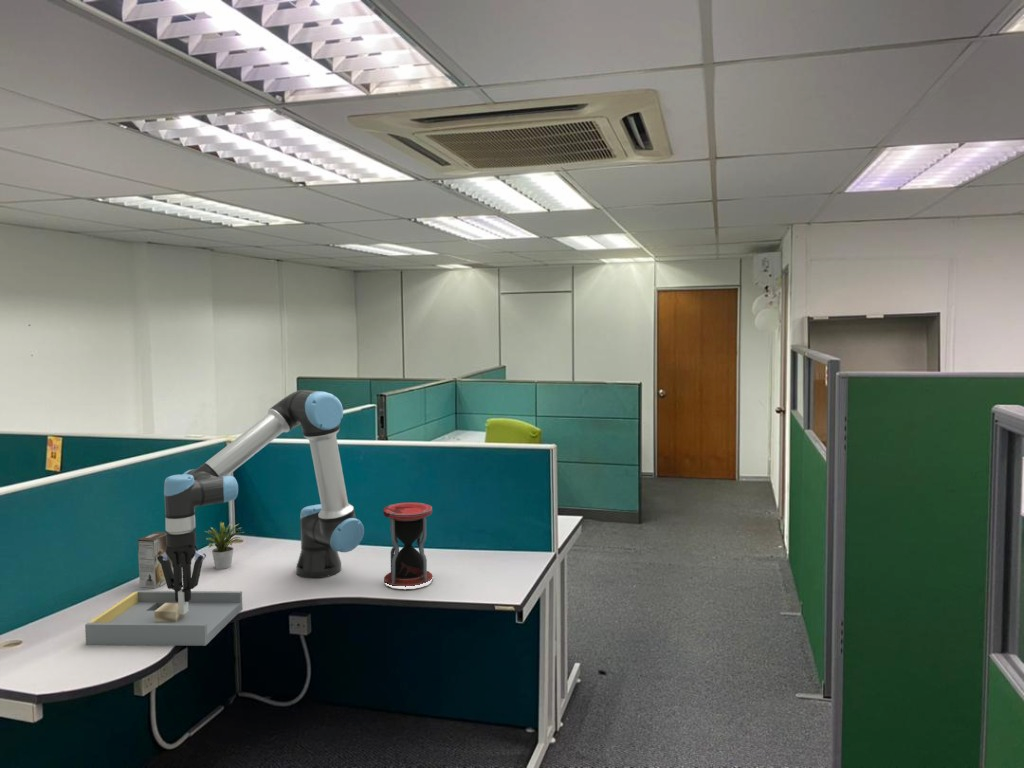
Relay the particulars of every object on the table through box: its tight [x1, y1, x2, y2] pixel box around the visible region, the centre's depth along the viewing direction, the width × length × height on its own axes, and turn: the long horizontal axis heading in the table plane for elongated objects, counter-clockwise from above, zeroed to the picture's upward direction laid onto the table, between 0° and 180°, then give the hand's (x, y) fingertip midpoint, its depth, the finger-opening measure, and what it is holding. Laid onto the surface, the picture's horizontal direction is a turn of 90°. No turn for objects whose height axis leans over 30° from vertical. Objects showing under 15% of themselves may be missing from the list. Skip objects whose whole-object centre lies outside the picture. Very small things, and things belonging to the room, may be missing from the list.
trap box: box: [84, 590, 243, 647], centre depth 194 cm, size 32×24×6 cm
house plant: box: [205, 521, 244, 570], centre depth 241 cm, size 14×14×16 cm
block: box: [154, 603, 186, 622], centre depth 194 cm, size 6×6×3 cm
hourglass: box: [382, 502, 434, 587], centre depth 228 cm, size 16×16×25 cm
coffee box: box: [137, 531, 173, 589], centre depth 227 cm, size 9×6×16 cm
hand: (183, 612), depth 193 cm, fingers closed
